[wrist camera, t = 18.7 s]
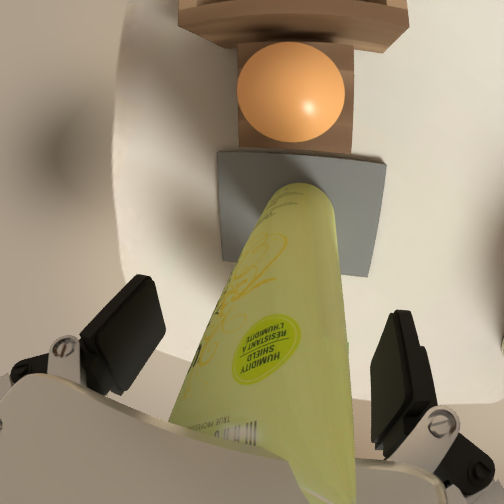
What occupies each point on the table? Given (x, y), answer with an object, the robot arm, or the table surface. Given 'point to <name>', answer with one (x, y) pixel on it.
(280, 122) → the orange ball
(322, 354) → the tube
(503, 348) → the coffee can
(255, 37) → the housing
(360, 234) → the mat
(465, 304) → the table surface
